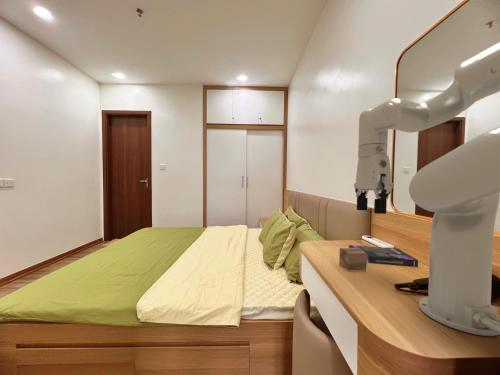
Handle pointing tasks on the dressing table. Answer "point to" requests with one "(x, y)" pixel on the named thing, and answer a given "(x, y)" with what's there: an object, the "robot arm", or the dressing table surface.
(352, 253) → the walnut block
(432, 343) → the dressing table surface
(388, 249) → the box
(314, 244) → the dressing table surface
